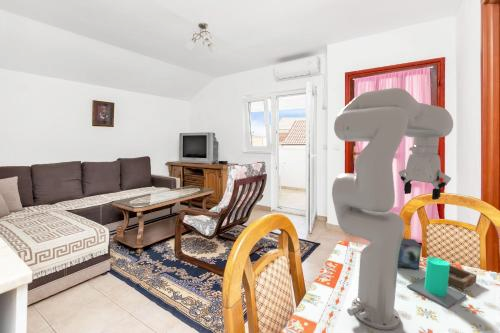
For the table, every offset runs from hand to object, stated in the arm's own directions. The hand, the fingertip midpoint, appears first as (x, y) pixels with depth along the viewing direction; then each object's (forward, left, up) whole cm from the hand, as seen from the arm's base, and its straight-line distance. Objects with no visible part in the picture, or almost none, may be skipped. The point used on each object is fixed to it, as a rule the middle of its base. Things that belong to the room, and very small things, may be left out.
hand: (420, 196), depth 90 cm
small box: (0, +5, -30) cm, 31 cm away
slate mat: (-7, -11, -30) cm, 33 cm away
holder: (+7, -10, -30) cm, 32 cm away
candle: (-7, -11, -30) cm, 32 cm away
